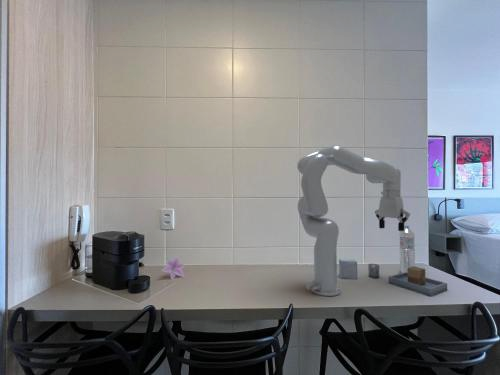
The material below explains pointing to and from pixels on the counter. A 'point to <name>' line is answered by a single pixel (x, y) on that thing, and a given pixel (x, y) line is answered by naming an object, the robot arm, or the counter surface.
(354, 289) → the counter surface
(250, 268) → the counter surface
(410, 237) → the water bottle
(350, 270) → the medicine box
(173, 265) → the lily
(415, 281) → the walnut block
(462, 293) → the counter surface
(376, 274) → the metal cup
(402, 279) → the tray
